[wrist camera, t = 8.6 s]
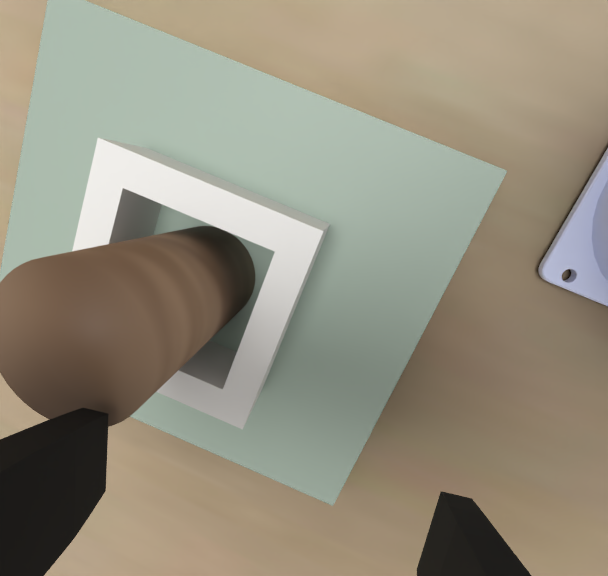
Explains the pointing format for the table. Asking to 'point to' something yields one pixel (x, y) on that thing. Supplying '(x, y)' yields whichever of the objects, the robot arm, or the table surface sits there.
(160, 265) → the walnut peg
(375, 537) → the table surface
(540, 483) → the table surface
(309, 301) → the socket board
